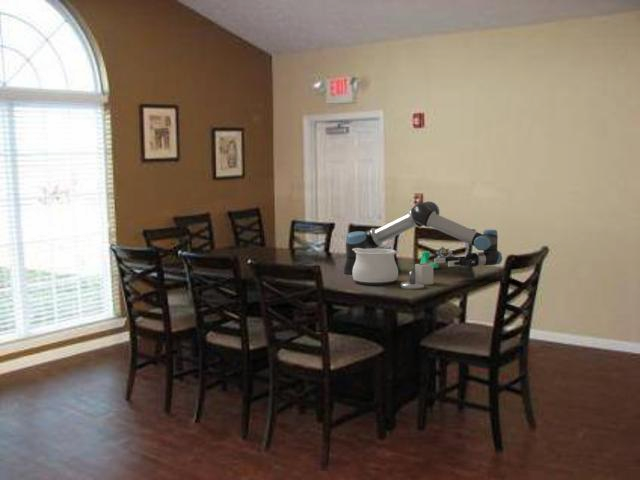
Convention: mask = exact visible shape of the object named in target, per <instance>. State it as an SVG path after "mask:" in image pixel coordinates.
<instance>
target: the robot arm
mask: <svg viewBox="0 0 640 480" xmlns="http://www.w3.org/2000/svg"><path fill="white" fill-rule="evenodd" d="M414 227H418V228H421V227H425V228H432V229H435V230H437V231H439V232H441V233H444V234H446V235H448V236H450V237H453V238H455V239H458V240H460V241H462V242H463V243H467V244H469V245H471V246H474V248H475V249H476V250H478V251H479V252H468V253H467V254H466V255H465V256H454V257H453V256H452V257H443V258H436V257H434V259H433V260H434V261H433V263H435V264H446V263H447V267H448V268H449V267H458V266H460V267H462V266H463V267H466V266H467V267H469V268H473V267H474V268H475V267H479V268H481V267H486V266H495V265H500V264H501V263H502V261H503V255H502V253H501V252H500V250H498V238H499V237H498V231H497V229H484V230H483V233H481V232H478V231H476V230H474V229H471V228H469V227H466V226H464V225H462V224H460V223H457V222H455V221H454V220H451V219H449V218H446V217H444V216H442V215H440V209H439V206H438V204H436V203H435V202H433V201H425V202H418V203H416V204H415V205H414V206H412V208H411V209H410V210H409V213H406V214H404V215H402V216H400V217H397V218H396V219H394V220H391V221H390V222H387V223H386V224H384V225H382V226H379V227H378V228H375V227H373V228H372V227H371V228H370V229H368V230H366V231H362V230H361V231H360V230H359V231H356V230H355V231H352V232H348V233H347V234H346V236H345V238H346V239H345V244H346V245H345V246H346V247H345V254H346V255H345V257H346V260H345V263H344V266H343V273H344V274H347V275H353V274H352V271H353V266H354V264H355V261H356V253H355V251H356V250H355V251H353V250H352V249H354V248H361V249H379V247H382V246H383V244H384V242H386V241H388V240H391V239H392V238H394V237H397V236H398V235H400V234H403V233H405V232H407V231H409V230H411V229H413V228H414Z"/></svg>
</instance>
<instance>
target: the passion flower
mask: <svg viewBox="0 0 640 480" xmlns="http://www.w3.org/2000/svg"><path fill="white" fill-rule="evenodd" d="M434 251H435V255H437V256H436V257H435V258H443V257H455V255H454V254H453V251H450V248H445V247H444V246H443V245H442V246H441V247H440V248H439V249H436V250H434Z"/></svg>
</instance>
